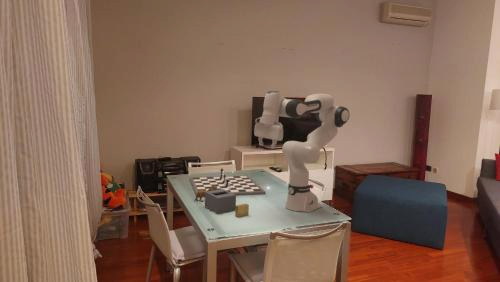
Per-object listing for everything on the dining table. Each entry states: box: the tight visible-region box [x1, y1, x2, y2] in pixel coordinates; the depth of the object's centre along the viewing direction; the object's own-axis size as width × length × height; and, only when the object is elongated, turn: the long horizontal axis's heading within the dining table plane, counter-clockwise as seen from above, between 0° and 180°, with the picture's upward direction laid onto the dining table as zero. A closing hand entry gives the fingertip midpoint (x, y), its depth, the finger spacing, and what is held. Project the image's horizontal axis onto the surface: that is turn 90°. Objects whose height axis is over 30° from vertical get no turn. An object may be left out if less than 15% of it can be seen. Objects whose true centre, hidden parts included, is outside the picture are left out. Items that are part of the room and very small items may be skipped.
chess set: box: [189, 168, 266, 198], centre depth 254 cm, size 45×45×11 cm
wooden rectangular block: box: [235, 203, 250, 219], centre depth 197 cm, size 7×2×6 cm, turn 127°
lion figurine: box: [193, 186, 217, 203], centre depth 220 cm, size 15×5×9 cm, turn 115°
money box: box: [204, 189, 237, 215], centre depth 207 cm, size 12×14×9 cm
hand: (266, 146), depth 194 cm, fingers open, 8 cm apart
